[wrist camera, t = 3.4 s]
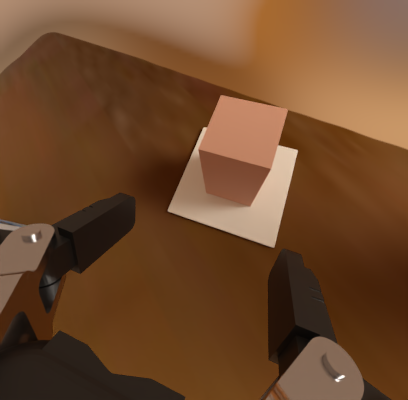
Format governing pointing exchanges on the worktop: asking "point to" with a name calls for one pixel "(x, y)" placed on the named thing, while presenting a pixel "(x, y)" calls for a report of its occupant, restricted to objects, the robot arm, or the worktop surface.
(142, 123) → the worktop surface
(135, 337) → the worktop surface
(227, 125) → the terracotta block
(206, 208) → the cream square pad
